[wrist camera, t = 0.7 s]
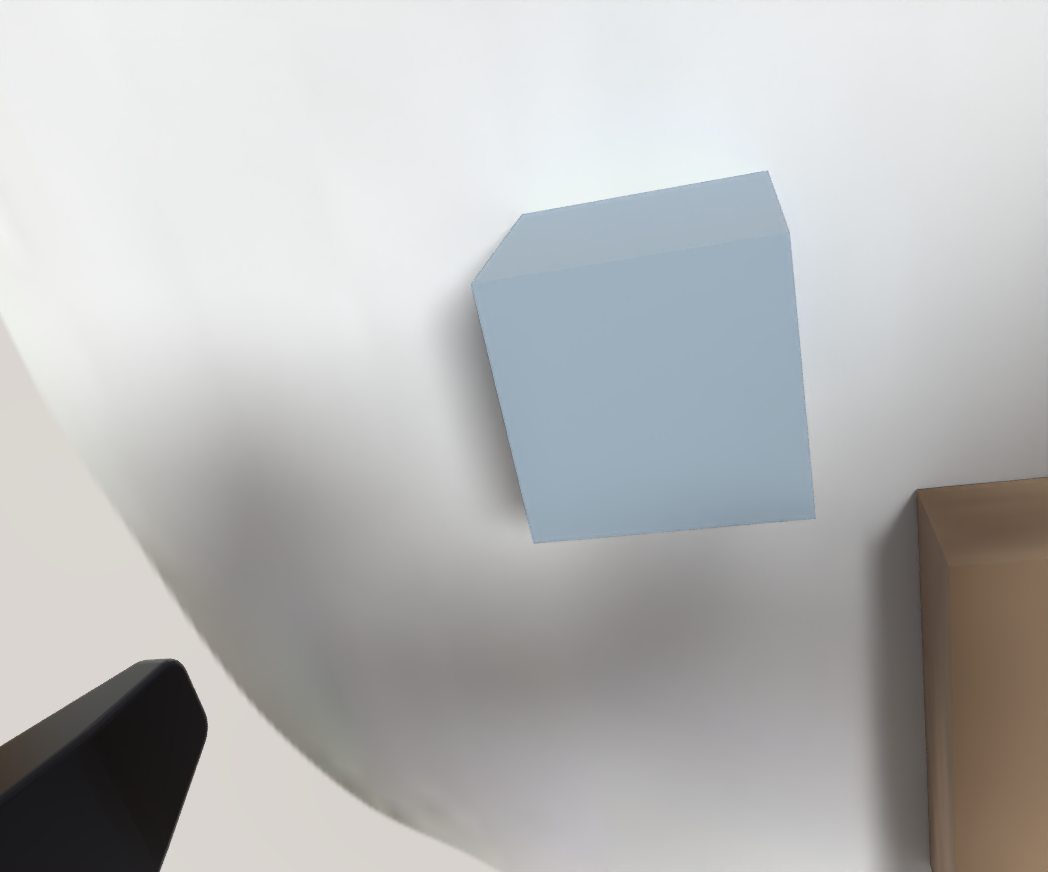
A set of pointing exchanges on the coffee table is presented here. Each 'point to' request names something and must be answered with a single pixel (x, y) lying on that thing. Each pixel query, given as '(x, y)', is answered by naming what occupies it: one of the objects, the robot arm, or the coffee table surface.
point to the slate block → (651, 362)
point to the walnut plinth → (986, 673)
